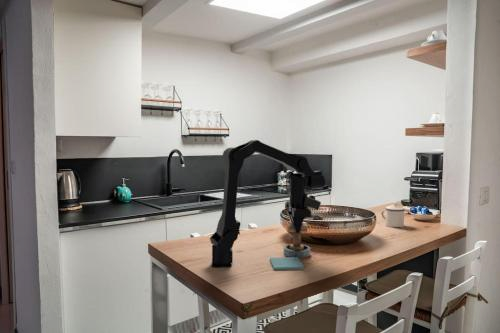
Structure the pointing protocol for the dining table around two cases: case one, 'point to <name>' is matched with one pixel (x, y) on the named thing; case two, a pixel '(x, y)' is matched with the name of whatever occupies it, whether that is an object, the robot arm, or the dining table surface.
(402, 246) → the dining table surface
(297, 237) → the t key
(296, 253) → the ring socket
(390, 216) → the teacup with lid
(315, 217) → the lighter
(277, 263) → the rubber mat
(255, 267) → the dining table surface
